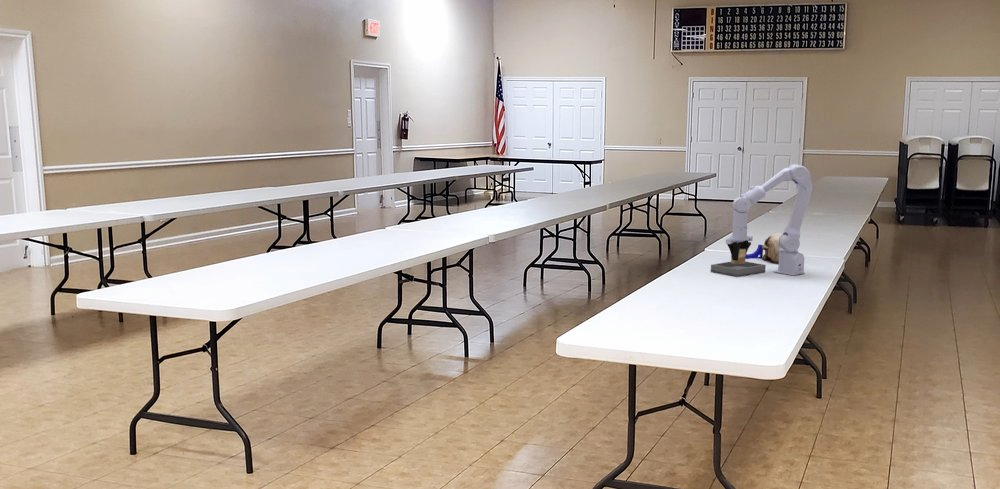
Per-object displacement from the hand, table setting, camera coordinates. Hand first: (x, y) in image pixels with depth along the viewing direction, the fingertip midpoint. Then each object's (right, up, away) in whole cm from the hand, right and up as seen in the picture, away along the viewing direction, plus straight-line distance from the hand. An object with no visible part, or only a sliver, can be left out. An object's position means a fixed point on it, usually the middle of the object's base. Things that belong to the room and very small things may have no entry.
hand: (738, 259), depth 345 cm
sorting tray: (0, -5, +1) cm, 5 cm away
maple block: (0, -1, 0) cm, 2 cm away
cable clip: (+14, 0, +33) cm, 36 cm away
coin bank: (+25, -1, +27) cm, 36 cm away
